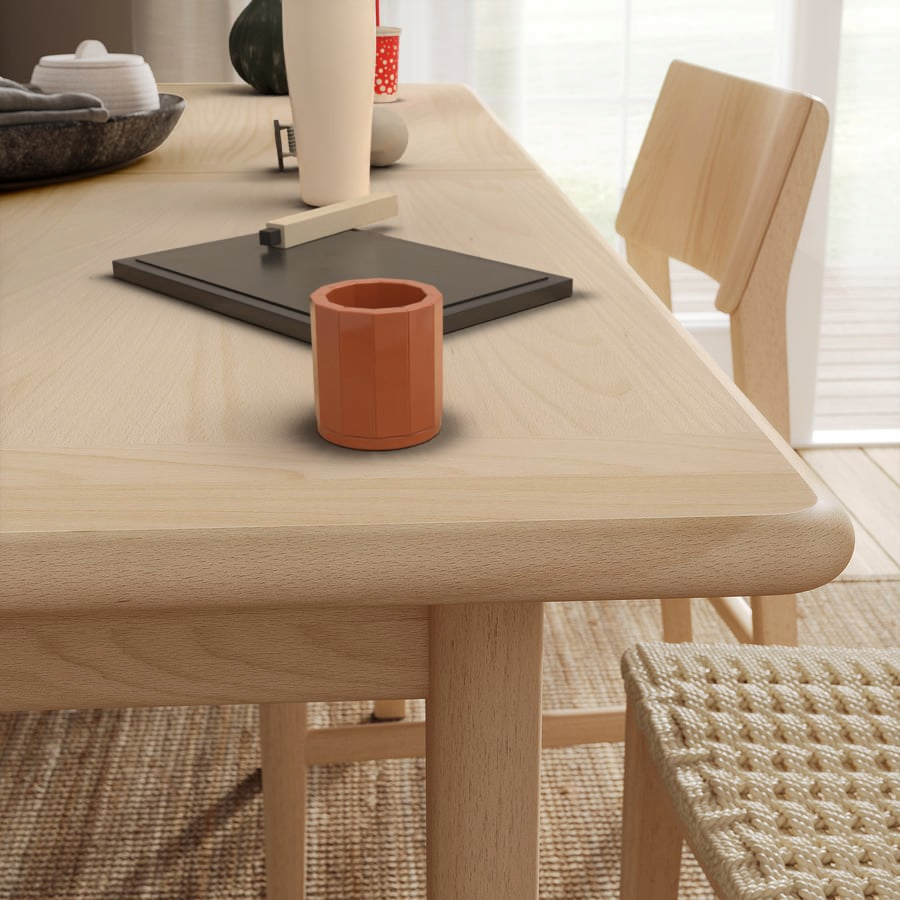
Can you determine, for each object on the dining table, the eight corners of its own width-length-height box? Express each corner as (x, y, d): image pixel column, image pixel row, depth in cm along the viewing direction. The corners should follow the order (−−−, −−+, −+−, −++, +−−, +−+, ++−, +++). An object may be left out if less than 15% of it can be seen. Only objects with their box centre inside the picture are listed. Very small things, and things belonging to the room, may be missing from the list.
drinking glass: (273, 202, 90) (262, -6, 85) (343, 191, 95) (336, -8, 89) (327, 215, 86) (318, -4, 80) (397, 203, 90) (394, -6, 84)
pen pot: (292, 426, 47) (284, 294, 45) (383, 396, 51) (380, 271, 48) (374, 461, 44) (371, 320, 42) (466, 426, 47) (467, 294, 45)
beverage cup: (349, 99, 156) (345, -15, 150) (392, 97, 158) (390, -15, 152) (366, 104, 150) (362, -13, 145) (409, 101, 153) (408, -14, 147)
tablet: (113, 276, 69) (111, 258, 69) (321, 234, 80) (321, 218, 79) (358, 359, 55) (357, 337, 55) (573, 295, 66) (573, 276, 65)
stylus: (254, 224, 71) (380, 191, 81) (255, 249, 71) (380, 213, 81) (273, 227, 70) (398, 193, 80) (274, 252, 70) (398, 215, 81)
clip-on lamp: (297, 181, 115) (265, 170, 97) (289, 115, 114) (256, 91, 96) (416, 170, 115) (406, 156, 97) (409, 103, 114) (398, 77, 96)
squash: (326, 44, 172) (259, -38, 163) (371, 56, 161) (301, -32, 151) (261, 114, 172) (190, 36, 162) (302, 131, 160) (228, 47, 151)
